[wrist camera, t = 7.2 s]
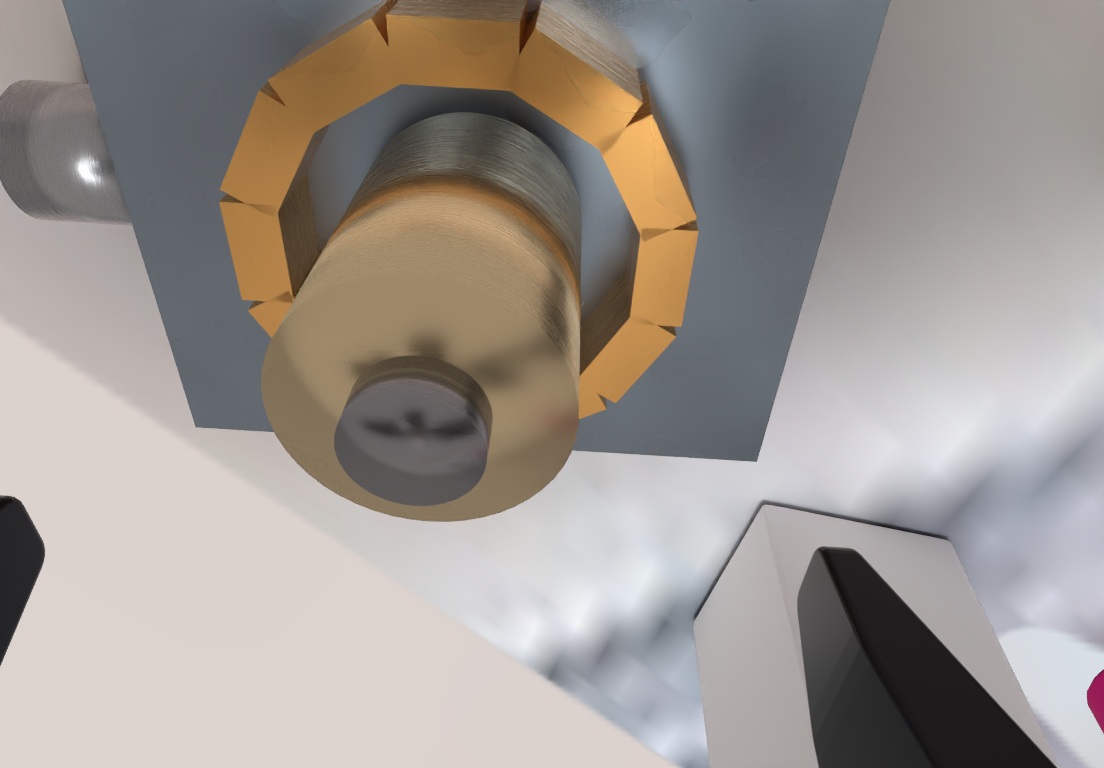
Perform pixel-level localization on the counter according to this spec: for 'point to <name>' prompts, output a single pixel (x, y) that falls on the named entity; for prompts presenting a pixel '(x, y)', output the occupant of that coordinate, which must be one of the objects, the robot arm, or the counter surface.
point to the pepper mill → (1097, 698)
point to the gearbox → (486, 88)
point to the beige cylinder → (439, 328)
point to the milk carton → (775, 645)
